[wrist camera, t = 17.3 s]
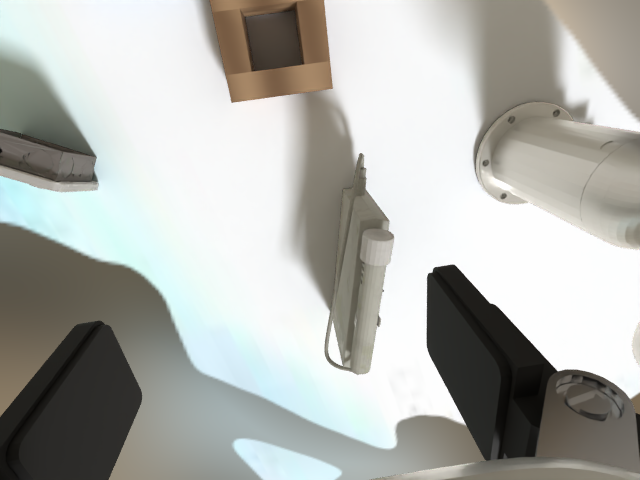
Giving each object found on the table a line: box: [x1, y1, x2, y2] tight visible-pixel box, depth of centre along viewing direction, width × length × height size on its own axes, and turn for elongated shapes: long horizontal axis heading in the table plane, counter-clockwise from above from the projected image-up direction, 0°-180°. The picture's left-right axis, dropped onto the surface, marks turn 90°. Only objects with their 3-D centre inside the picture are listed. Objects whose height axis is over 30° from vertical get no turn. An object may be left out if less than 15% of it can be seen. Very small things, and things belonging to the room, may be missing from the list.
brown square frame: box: [210, 0, 333, 103], centre depth 35 cm, size 10×10×5 cm
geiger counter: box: [325, 153, 394, 375], centre depth 42 cm, size 14×6×25 cm
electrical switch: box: [0, 129, 99, 192], centre depth 36 cm, size 9×5×9 cm, turn 69°
